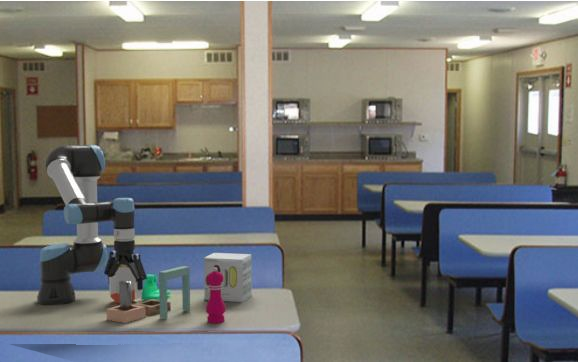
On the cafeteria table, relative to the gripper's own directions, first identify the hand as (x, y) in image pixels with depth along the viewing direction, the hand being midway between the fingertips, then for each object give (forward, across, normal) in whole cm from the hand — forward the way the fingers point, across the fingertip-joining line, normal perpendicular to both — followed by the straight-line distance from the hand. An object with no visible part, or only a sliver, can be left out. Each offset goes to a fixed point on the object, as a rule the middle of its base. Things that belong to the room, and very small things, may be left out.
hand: (125, 296), depth 252 cm
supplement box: (+9, +12, +46) cm, 48 cm away
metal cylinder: (+8, 0, 0) cm, 9 cm away
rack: (+8, 0, 0) cm, 9 cm away
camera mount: (+9, -13, +29) cm, 33 cm away
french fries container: (+9, -20, +18) cm, 28 cm away
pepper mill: (+8, +31, +15) cm, 36 cm away
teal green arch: (+8, +12, +13) cm, 20 cm away
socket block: (+8, 0, +13) cm, 16 cm away
